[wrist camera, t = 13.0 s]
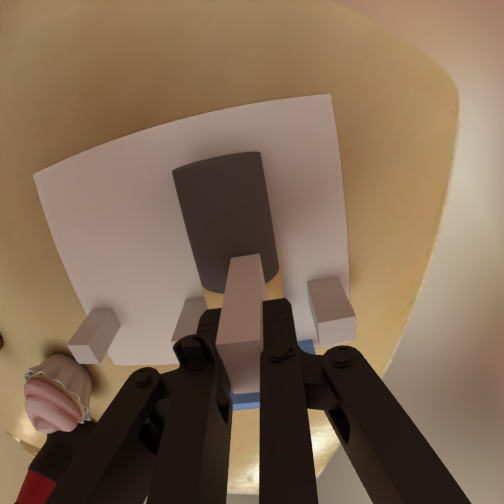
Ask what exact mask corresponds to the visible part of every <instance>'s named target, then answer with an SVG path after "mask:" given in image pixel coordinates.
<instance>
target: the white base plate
mask: <svg viewBox="0 0 504 504" xmlns="http://www.w3.org/2000/svg"><path fill="white" fill-rule="evenodd" d="M242 152H260V153H261V159H262V164H263V170H264V176H265V182H266V188H267V194H268V200H269V206H270V212H271V218H272V224H273V231H274V237H275V243H276V250H277V256H278V262H279V264H280V271H281V277H282V284H283V291H284V298H286V299H287V300H288V301H289V302H290V303H291V306H292V312H293V318H294V324H295V331H296V337H297V343H298V346H299V347H300V348H301V349H302V350H303V351H305V352H307V353H309V354H314V355H316V354H315V350H314V349H315V348H321V347H326V346H332V345H337V344H342V343H347V342H349V341H351V340H355V334H356V315H355V313H354V310H353V308H352V306H351V304H350V295H349V259H348V239H347V223H346V210H345V199H344V188H343V178H342V169H341V161H340V153H339V145H338V138H337V131H336V124H335V118H334V112H333V106H332V100H331V94H321V95H310V96H301V97H293V98H285V99H278V100H271V101H264V102H258V103H252V104H247V105H241V106H236V107H231V108H226V109H221V110H217V111H212V112H208V113H204V114H199V115H195V116H191V117H187V118H183V119H180V120H176V121H172V122H169V123H165V124H162V125H158V126H155V127H152V128H148V129H145V130H142V131H139V132H136V133H133V134H130V135H127V136H124V137H121V138H118V139H115V140H112V141H110V142H107V143H104V144H101V145H99V146H96V147H94V148H91V149H89V150H86V151H84V152H81V153H79V154H76V155H74V156H72V157H69V158H67V159H65V160H62V161H60V162H58V163H56V164H53V165H51V166H49V167H47V168H45V169H43V170H41V171H39V172H37V173H35V174H33V177H34V180H35V184H36V188H37V191H38V195H39V198H40V201H41V205H42V208H43V211H44V214H45V217H46V220H47V223H48V226H49V229H50V232H51V234H52V237H53V240H54V242H55V245H56V248H57V250H58V253H59V255H60V258H61V260H62V263H63V265H64V267H65V270H66V272H67V274H68V277H69V279H70V281H71V283H72V286H73V288H74V290H75V292H76V294H77V296H78V298H79V301H80V303H81V305H82V307H83V309H84V311H85V313H86V315H87V317H86V318H85V320H84V321H83V323H82V324H81V325H80V327H79V328H78V330H77V331H76V333H75V334H74V335H73V337H72V338H71V340H70V341H69V343H68V344H67V346H68V348H69V350H70V351H71V353H72V354H73V356H74V358H75V359H76V361H77V362H78V364H101V362H102V360H103V358H104V356H105V354H106V352H107V353H108V355H109V356H110V358H111V360H112V361H113V363H114V364H115V365H166V364H180V363H179V361H178V359H177V357H176V355H175V353H174V351H173V346H174V344H175V343H176V342H177V341H178V340H179V339H181V338H183V337H185V336H187V335H192V334H196V333H197V332H196V331H197V327H198V323H199V319H200V317H201V315H202V314H203V313H204V312H205V311H206V310H207V309H208V307H207V304H206V300H205V297H204V294H203V291H202V287H201V284H200V278H199V274H198V271H197V267H196V264H195V260H194V256H193V253H192V249H191V246H190V242H189V238H188V235H187V231H186V227H185V223H184V219H183V216H182V212H181V208H180V204H179V200H178V196H177V192H176V188H175V183H174V179H173V175H172V171H173V170H174V169H176V168H178V167H181V166H184V165H187V164H190V163H193V162H197V161H201V160H205V159H209V158H213V157H218V156H223V155H228V154H235V153H242ZM230 397H231V399H232V403H233V410H242V409H254V408H260V392H253V393H242V394H234V393H233V391H232V388H231V391H230Z"/></svg>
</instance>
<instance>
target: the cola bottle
mask: <svg viewBox="0 0 504 504" xmlns="http://www.w3.org/2000/svg"><path fill="white" fill-rule="evenodd" d="M94 427H95V425H94V424H93V423H92V422H91V421H88V420H84V423H83V424H82V423H79V422H78V423H77V426H76V427H75V429H74V430H72V431H70V432H66V431H62V430H58V431H55V432H53V433H47V440H46V442H45V444H44V445H43V447H42V448H41V450H40V451H39V452H38V454H37V455H36V457H35V458H34V459H33V461H32V462H31V464H30V466H29V468H28V473H27V475H26V477H25V480H24V482H23V485H22V487H21V490H20V492H19V495H18V498H17V500H16V502H15V503H14V504H44V503H45V502H46V500H47V498H48V497H49V495H50V494H51V492H52V491H53V489H54V487H55V486H56V484H57V483H58V481H59V480H60V478H61V477H62V475H63V474H64V472H65V470H66V469H67V467H68V466H69V464H70V463H71V461H72V460H73V458H74V457H75V455H76V454H77V452H78V451H79V449H80V448H81V446H82V445H83V443H84V442H85V440H86V439H87V437H88V436H89V434H90V433H91V431H92V430H93V428H94Z"/></svg>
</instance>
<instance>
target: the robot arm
mask: <svg viewBox="0 0 504 504" xmlns="http://www.w3.org/2000/svg"><path fill="white" fill-rule="evenodd" d="M196 332H197V333H196V334H192V335H187V336H185V337H183V338H181V339H179V340H178V341H177V342H176V343H175V344H174V346H173V351H174V353H175V355H176V357H177V359H178V361H179V363H180V367H179V368H178V369H176V370H173V371H170V372H166V373H163V374H160V373H159V372H158V371H157V370H156V369H154V368H152V367H145V368H141V369H138V370H137V371H135V372H133V373H132V374H131V375H130V376H129V378H128V379H127V381H126V382H125V384H124V385H123V386H122V388H121V389H120V391H119V392H118V394H117V395H116V396H115V398H114V399H113V401H112V402H111V404H110V405H109V407H108V408H107V409H106V411H105V412H104V414H103V415H102V417H101V418H100V420H99V421H98V423H97V424H96V425H95V427H94V428H93V430H92V431H91V433H90V434H89V436H88V437H87V439H86V440H85V442H84V443H83V445H82V446H81V448H80V449H79V451H78V452H77V454H76V455H75V457H74V458H73V460H72V461H71V463H70V464H69V466H68V467H67V469H66V470H65V472H64V474H63V475H62V477H61V478H60V480H59V481H58V483H57V484H56V486H55V487H54V489H53V491H52V492H51V494H50V495H49V497H48V498H47V500H46V502H45V503H44V504H143V503H144V501H145V499H146V497H147V495H148V498H147V502H146V504H226V495H227V481H228V467H229V453H230V439H231V425H232V412H233V403H232V399H231V397H230V391H231V388H232V391H233V393H234V394H242V393H253V392H260V464H259V504H318V496H317V486H316V477H315V468H314V459H313V451H312V442H311V434H310V426H309V419H308V411H307V408H308V409H317V410H324V412H325V414H326V416H327V418H328V419H329V421H330V423H331V425H332V427H333V429H334V431H335V433H336V435H337V437H338V438H339V440H340V442H341V444H342V446H343V448H344V450H345V452H346V454H347V455H348V457H349V459H350V461H351V463H352V465H353V467H354V468H355V471H356V473H357V474H358V476H359V478H360V480H361V482H362V484H363V485H364V487H365V489H366V491H367V493H368V495H369V497H370V499H371V501H372V502H373V504H471V503H470V501H469V499H468V498H467V497H466V495H465V494H464V492H463V491H462V490H461V488H460V486H459V485H458V484H457V482H456V481H455V479H454V478H453V477H452V475H451V474H450V473H449V471H448V470H447V468H446V467H445V465H444V464H443V463H442V461H441V460H440V458H439V457H438V456H437V454H436V453H435V451H434V450H433V449H432V447H431V446H430V445H429V443H428V442H427V440H426V439H425V438H424V436H423V435H422V434H421V432H420V431H419V429H418V428H417V427H416V425H415V424H414V423H413V421H412V420H411V419H410V417H409V416H408V415H407V414H406V412H405V411H404V409H403V408H402V407H401V405H400V404H399V403H398V401H397V400H396V399H395V397H394V396H393V395H392V393H391V392H390V391H389V389H388V388H387V387H386V386H385V384H384V383H383V381H382V380H381V379H380V377H379V376H378V375H377V374H376V372H375V371H374V370H373V368H372V367H371V366H370V364H369V363H368V362H367V360H366V359H365V358H364V357H363V355H362V354H361V353H360V352H359V351H358V350H357V349H356V348H353V347H350V346H342V345H341V346H336V347H333V348H331V349H329V350H327V351H326V353H325V354H324V355H314V354H309V353H307V352H305V351H303V350H302V349H301V348H300V347H299V346H298V343H297V337H296V331H295V324H294V318H293V312H292V306H291V303H290V302H289V301H288V300H287V299H286V298H280V299H274V300H268V296H267V290H266V285H265V280H264V275H263V269H262V264H261V259H260V254H253V255H247V256H240V257H234V258H231V260H230V265H229V271H228V276H227V282H226V287H225V293H224V298H223V304H222V308H215V309H207V310H206V311H205V312H204V313H203V314H202V315H201V317H200V319H199V323H198V327H197V331H196Z"/></svg>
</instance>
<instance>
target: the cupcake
mask: <svg viewBox="0 0 504 504" xmlns="http://www.w3.org/2000/svg"><path fill="white" fill-rule="evenodd" d="M27 372H28V373H27V374H25V375H23V377H24V379H25V380H26V381H27V383H26V384H25V387H24V394H25V398H26V402H25V407H26V411H27V414H28V417H29V419H30V421H31V423H32V425H33V426H34V427H35V429H36V431H40V432H43V433H53V432H55V431H58V430H62V431H66V432H70V431H72V430H74V429H75V427H76V426H77V423H78V422H79V423H82V424H83V423H84V420H88V421H91V417H90V410H89V402H90V395H91V390H92V379H91V377H90V375H89V373H88V372H87V371H86V369H85V368H84V367H83V366H82V365H81V364H78V362H77V361H75V360H74V359H72V358H71V357H69V356H66V355H63V354H54V355H51V356H50V357H48V358H47V359H46V360H45V361H44V362H42V363H41V364H40V365H38V366H35V367H33V368H30V369H27Z"/></svg>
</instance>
